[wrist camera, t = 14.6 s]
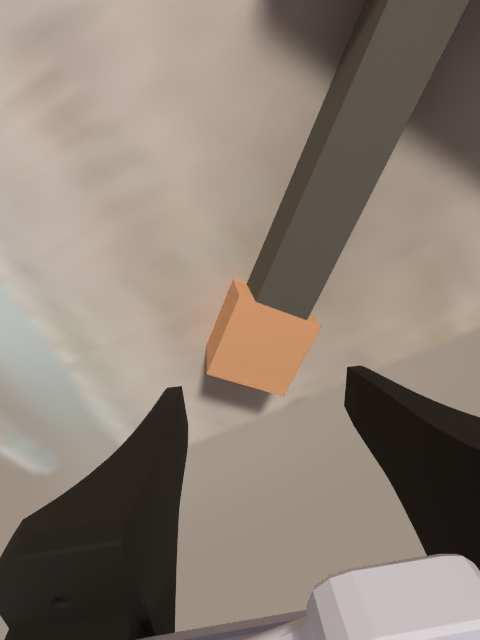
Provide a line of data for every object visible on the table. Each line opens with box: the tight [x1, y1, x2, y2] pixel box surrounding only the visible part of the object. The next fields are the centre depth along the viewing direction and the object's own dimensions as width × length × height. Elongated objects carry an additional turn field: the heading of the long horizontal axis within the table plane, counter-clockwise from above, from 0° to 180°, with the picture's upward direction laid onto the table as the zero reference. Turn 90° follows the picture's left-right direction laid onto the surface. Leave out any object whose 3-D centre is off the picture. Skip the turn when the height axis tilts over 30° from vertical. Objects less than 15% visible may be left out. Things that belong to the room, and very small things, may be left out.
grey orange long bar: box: [206, 0, 469, 397], centre depth 13 cm, size 4×19×3 cm, turn 158°
